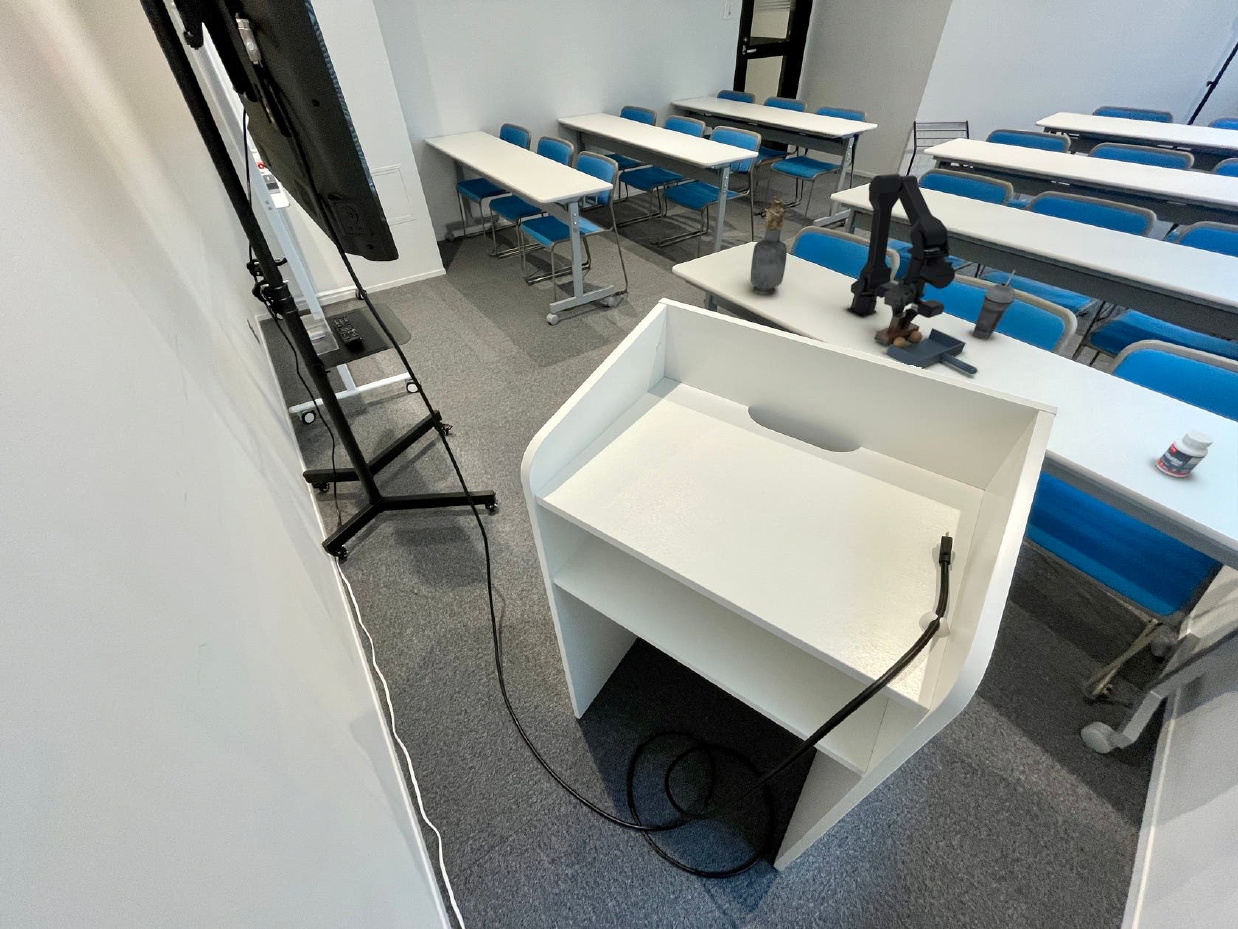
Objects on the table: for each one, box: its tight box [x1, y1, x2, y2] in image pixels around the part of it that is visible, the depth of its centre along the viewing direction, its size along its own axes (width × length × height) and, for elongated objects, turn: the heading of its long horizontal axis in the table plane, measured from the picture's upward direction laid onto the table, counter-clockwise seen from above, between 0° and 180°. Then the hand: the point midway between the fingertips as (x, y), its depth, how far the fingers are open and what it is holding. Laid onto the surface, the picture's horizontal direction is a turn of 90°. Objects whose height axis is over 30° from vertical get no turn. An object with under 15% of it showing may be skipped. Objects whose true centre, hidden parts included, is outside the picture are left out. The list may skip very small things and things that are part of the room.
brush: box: [873, 310, 920, 346], centre depth 154 cm, size 4×13×7 cm, turn 119°
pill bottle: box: [1155, 430, 1215, 478], centre depth 108 cm, size 5×5×9 cm
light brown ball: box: [892, 337, 907, 348], centre depth 152 cm, size 3×3×3 cm
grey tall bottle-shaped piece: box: [750, 195, 790, 296], centre depth 177 cm, size 11×19×30 cm, turn 169°
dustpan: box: [886, 327, 978, 375], centre depth 145 cm, size 20×18×3 cm
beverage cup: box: [972, 269, 1017, 340], centre depth 150 cm, size 7×7×20 cm
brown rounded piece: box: [909, 330, 923, 343], centre depth 154 cm, size 3×3×3 cm
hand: (898, 327), depth 154 cm, fingers closed on brush, 2 cm apart
